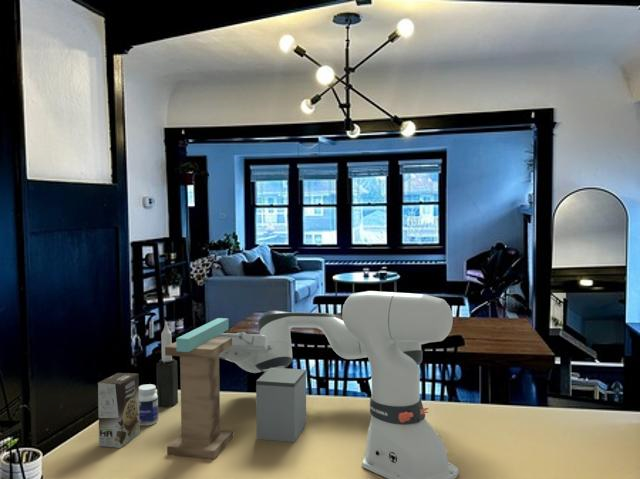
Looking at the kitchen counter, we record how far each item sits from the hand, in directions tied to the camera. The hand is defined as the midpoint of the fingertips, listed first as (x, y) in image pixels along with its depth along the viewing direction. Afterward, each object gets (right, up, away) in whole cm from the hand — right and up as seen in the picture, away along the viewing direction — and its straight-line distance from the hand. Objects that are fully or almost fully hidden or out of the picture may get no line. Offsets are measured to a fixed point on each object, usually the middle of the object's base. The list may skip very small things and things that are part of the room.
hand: (225, 334), depth 151 cm
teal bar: (-3, +1, -15) cm, 15 cm away
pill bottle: (-21, -24, -1) cm, 32 cm away
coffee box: (-25, -25, -12) cm, 37 cm away
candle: (-20, -24, +14) cm, 34 cm away
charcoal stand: (+16, -24, -7) cm, 30 cm away
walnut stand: (-3, -25, -16) cm, 30 cm away
